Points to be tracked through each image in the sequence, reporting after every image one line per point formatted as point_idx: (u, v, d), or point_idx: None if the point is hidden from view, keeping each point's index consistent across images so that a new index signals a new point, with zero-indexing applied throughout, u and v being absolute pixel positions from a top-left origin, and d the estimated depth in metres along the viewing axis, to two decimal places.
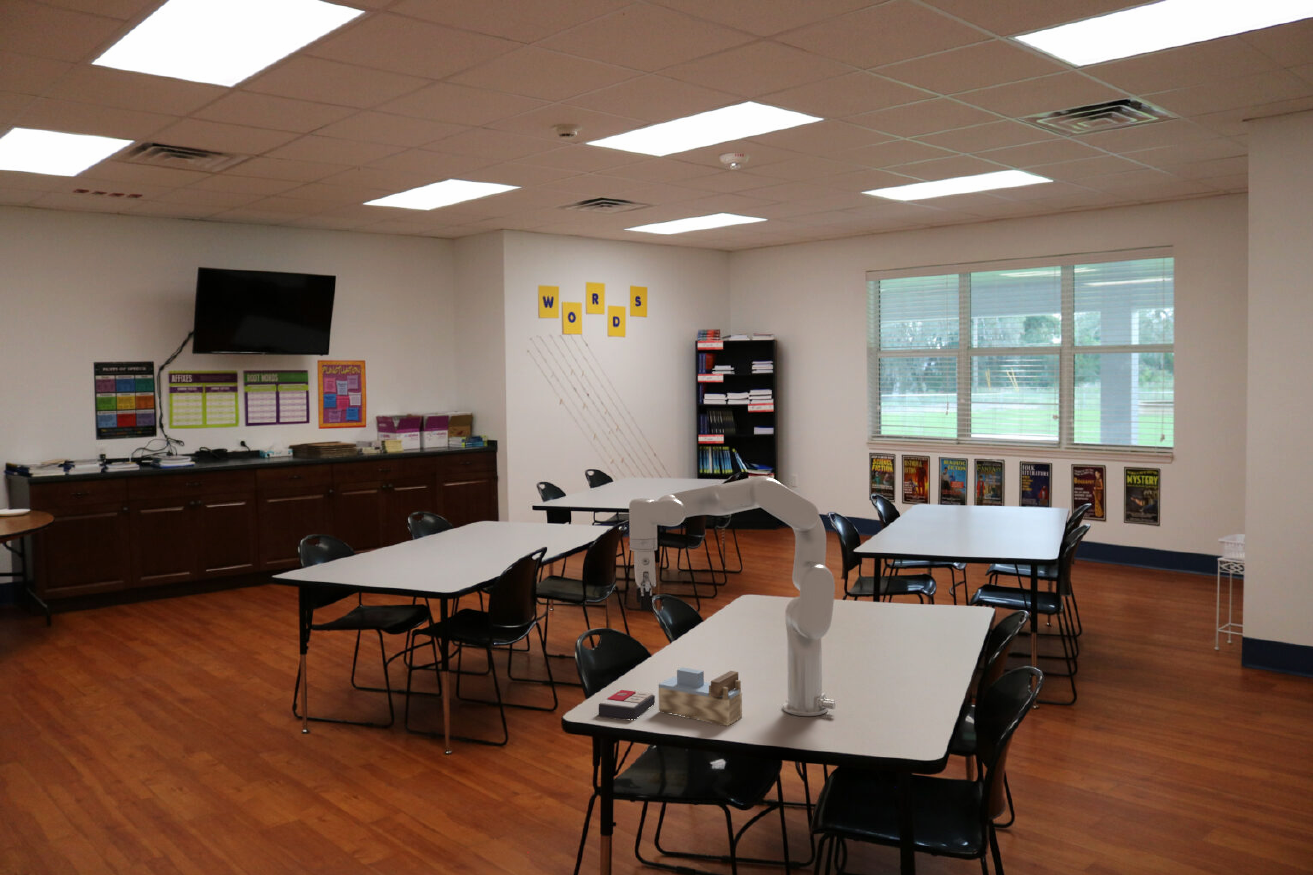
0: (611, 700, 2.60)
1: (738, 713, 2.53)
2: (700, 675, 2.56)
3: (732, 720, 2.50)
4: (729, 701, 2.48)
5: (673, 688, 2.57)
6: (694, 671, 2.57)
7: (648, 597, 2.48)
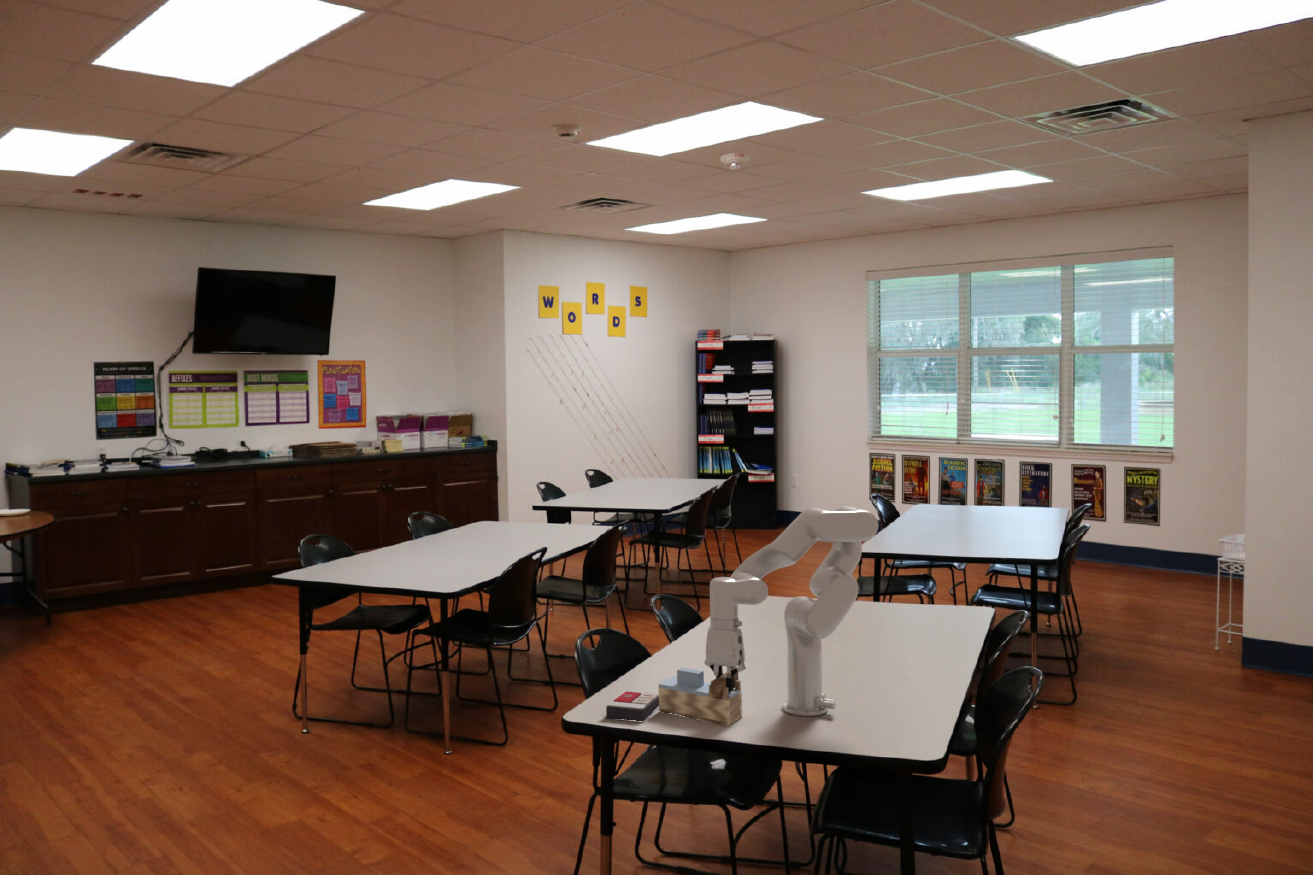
0: (618, 702, 2.58)
1: (738, 713, 2.53)
2: (700, 675, 2.56)
3: (732, 720, 2.50)
4: (729, 701, 2.48)
5: (673, 688, 2.57)
6: (694, 671, 2.57)
7: (733, 677, 2.51)
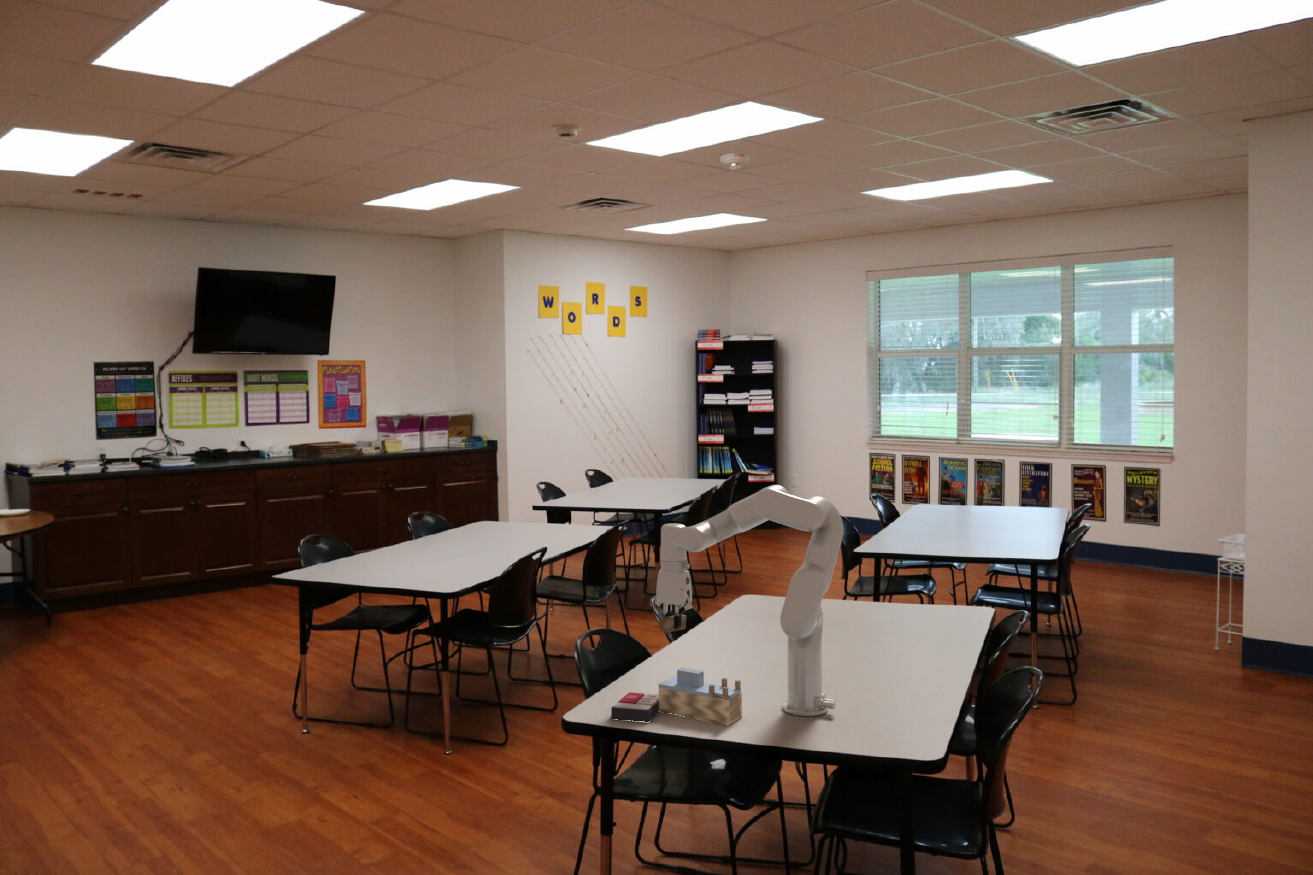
0: (623, 703, 2.57)
1: (738, 713, 2.53)
2: (700, 675, 2.56)
3: (732, 720, 2.50)
4: (729, 701, 2.48)
5: (673, 688, 2.57)
6: (694, 671, 2.57)
7: (681, 616, 2.73)
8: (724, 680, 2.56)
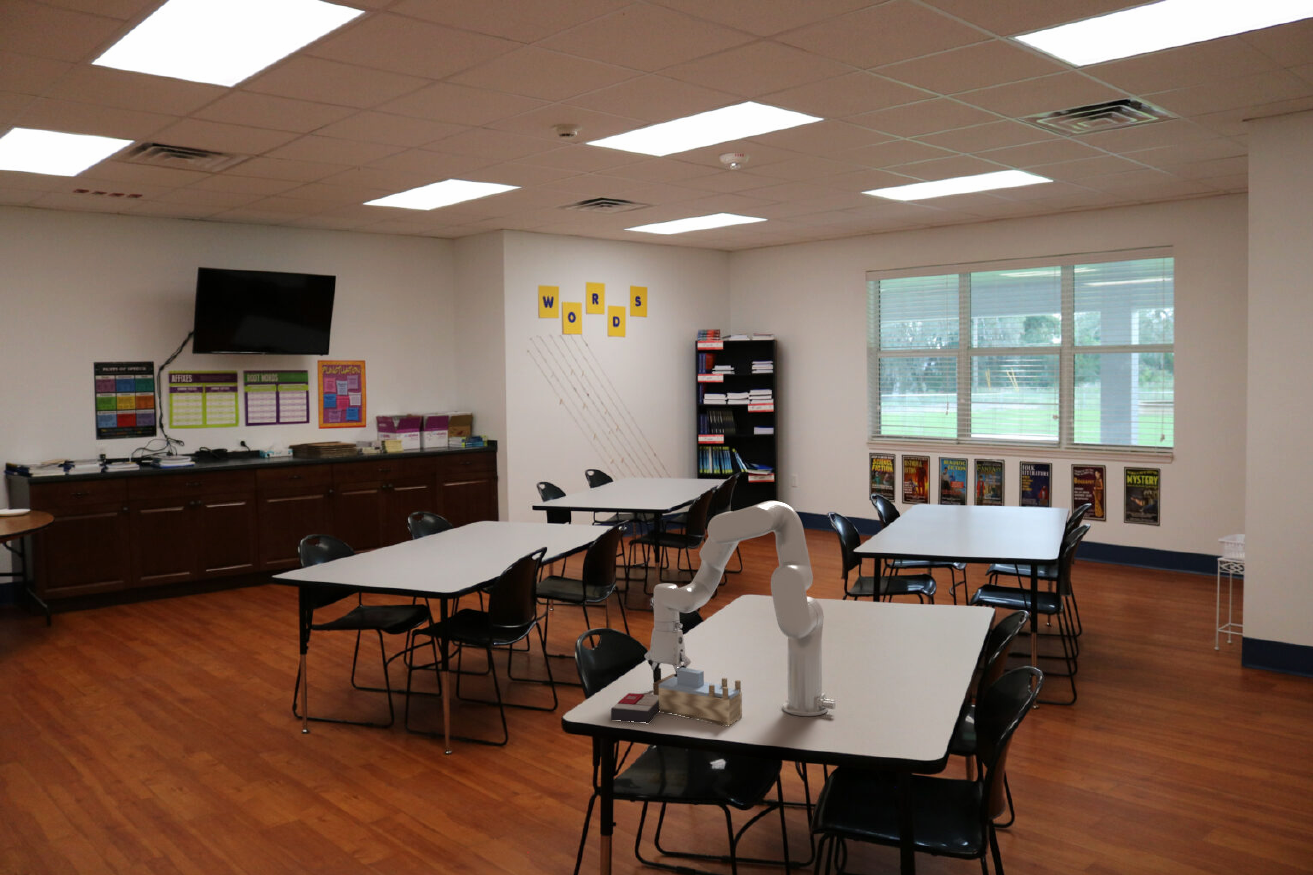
0: (623, 704, 2.57)
1: (738, 713, 2.53)
2: (700, 675, 2.56)
3: (732, 720, 2.50)
4: (729, 701, 2.48)
5: (673, 688, 2.57)
6: (694, 671, 2.57)
7: None
8: (724, 680, 2.56)
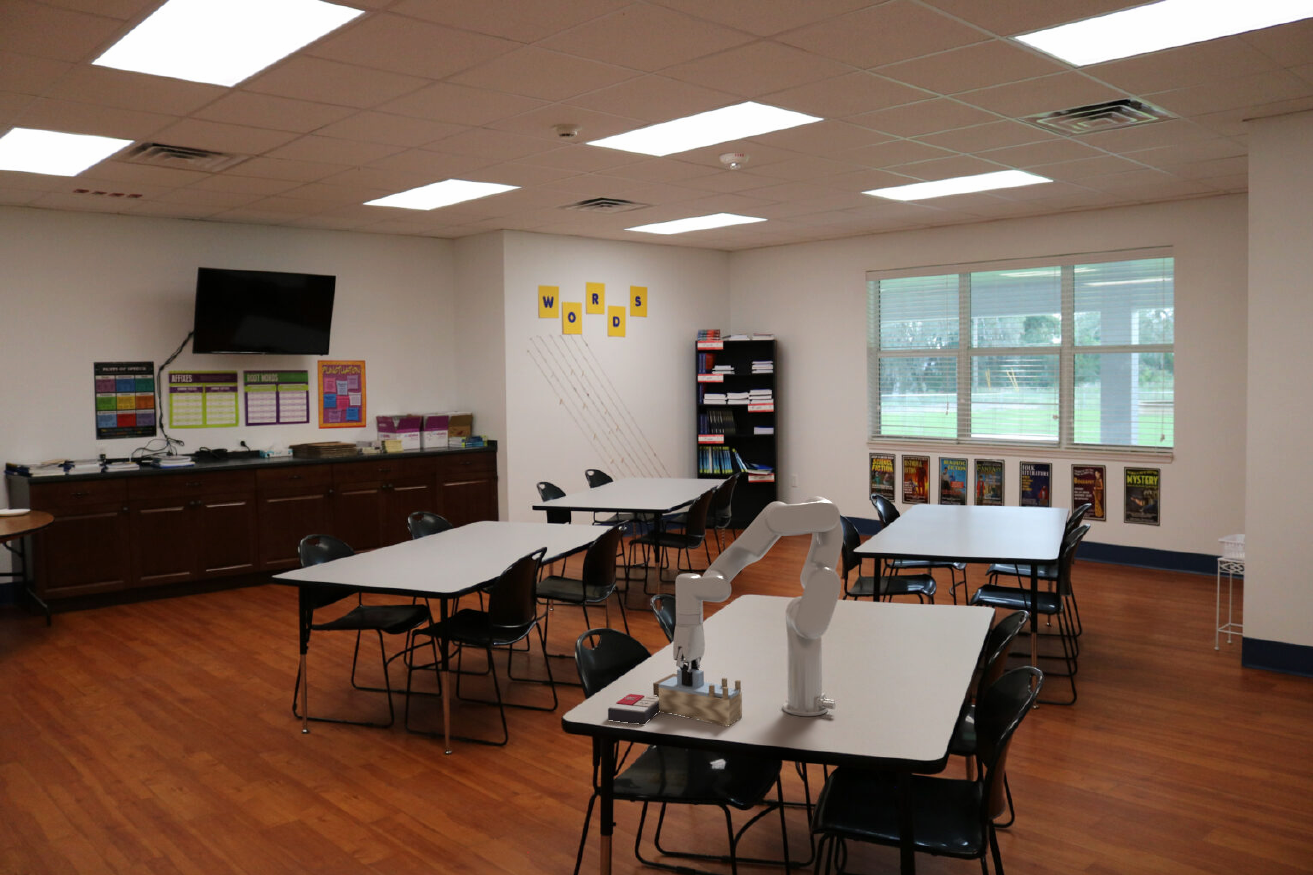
0: (621, 705, 2.56)
1: (738, 713, 2.53)
2: (700, 675, 2.56)
3: (732, 720, 2.50)
4: (729, 701, 2.48)
5: (673, 688, 2.57)
6: (694, 671, 2.57)
7: None
8: (724, 680, 2.56)
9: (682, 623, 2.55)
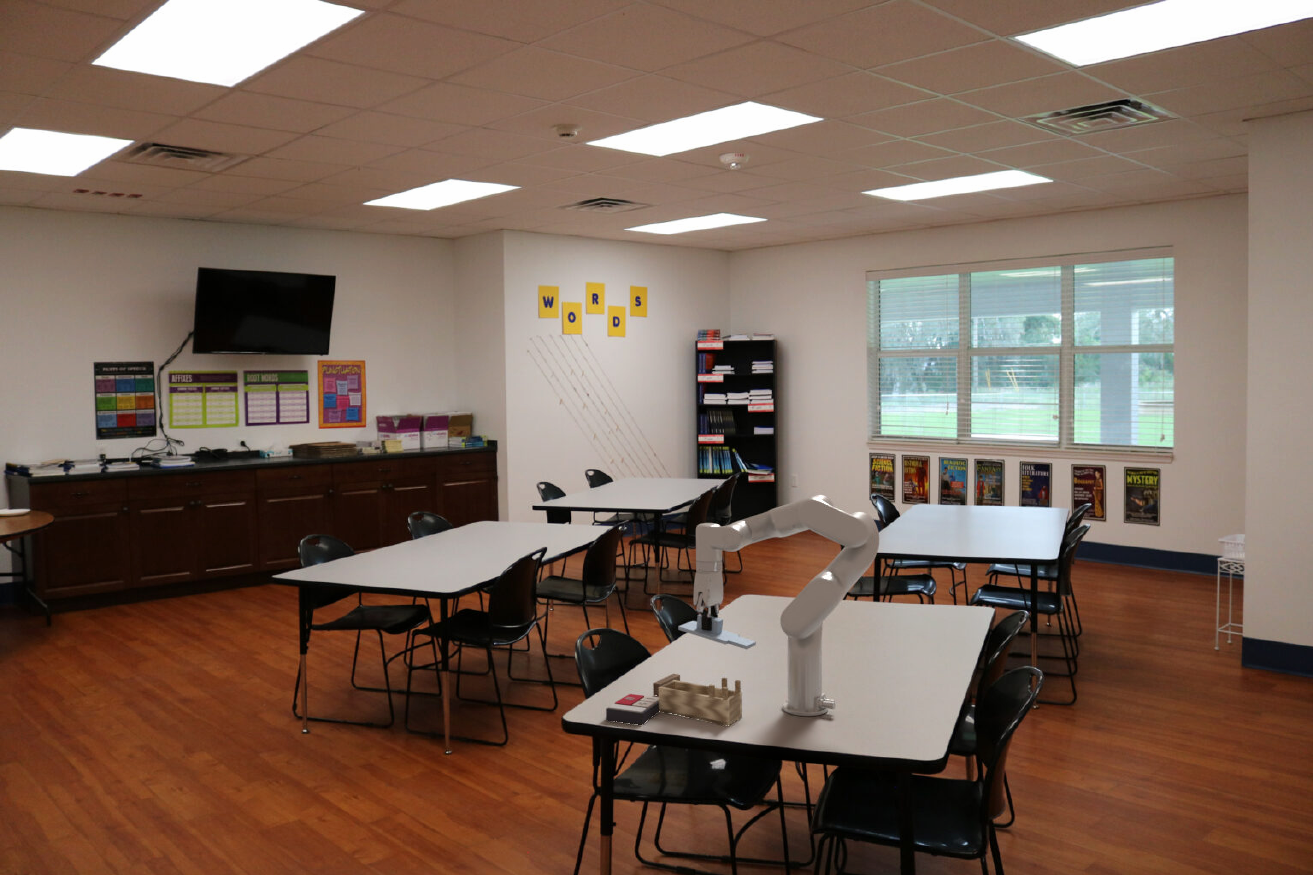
0: (619, 705, 2.56)
1: (738, 713, 2.53)
2: (719, 623, 2.67)
3: (732, 720, 2.50)
4: (729, 701, 2.48)
5: (692, 632, 2.68)
6: (714, 618, 2.68)
7: None
8: (724, 680, 2.56)
9: (702, 570, 2.65)
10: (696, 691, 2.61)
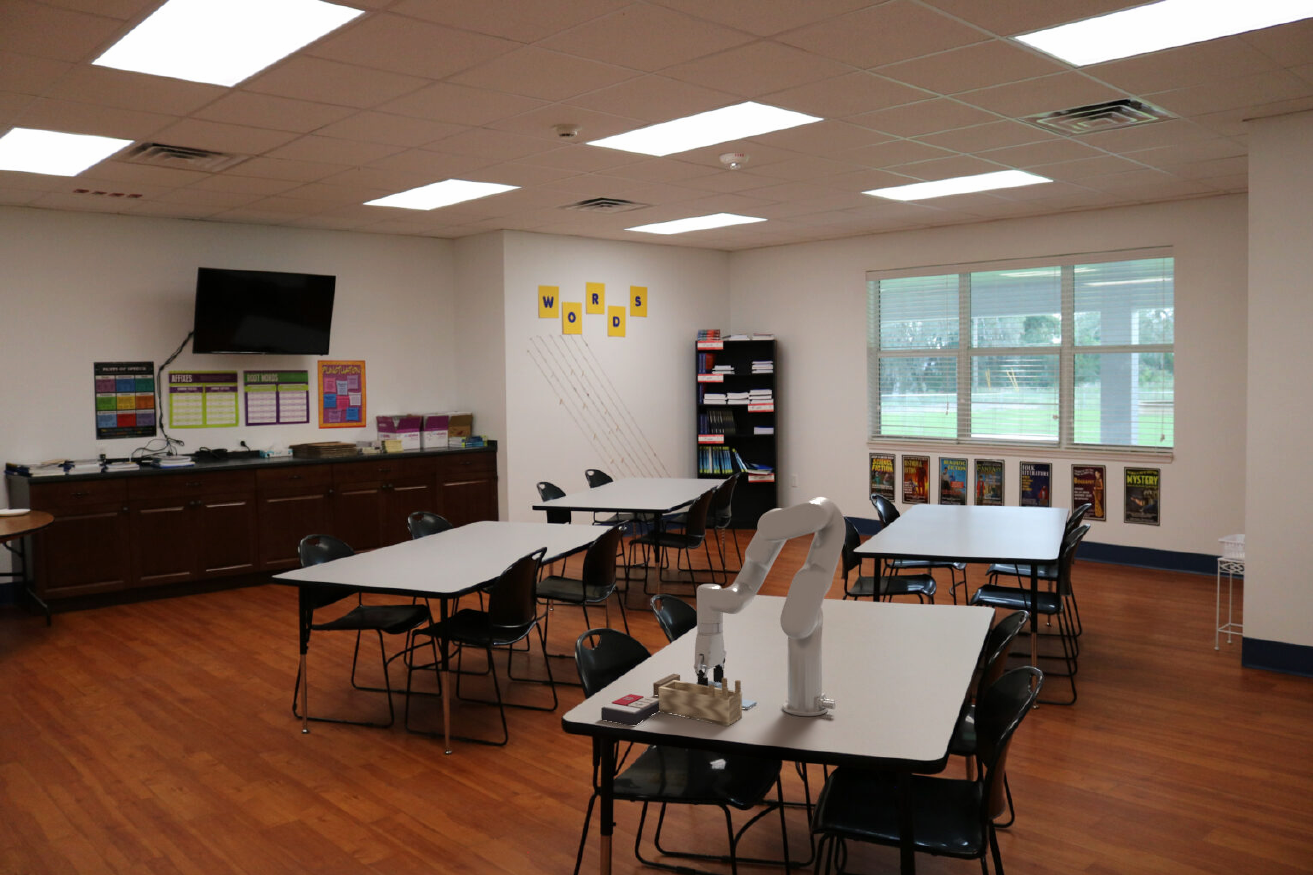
0: (615, 704, 2.56)
1: (738, 713, 2.53)
2: (719, 687, 2.68)
3: (732, 720, 2.50)
4: (729, 701, 2.48)
5: None
6: (713, 683, 2.69)
7: None
8: (724, 680, 2.56)
9: (703, 631, 2.66)
10: (696, 691, 2.61)
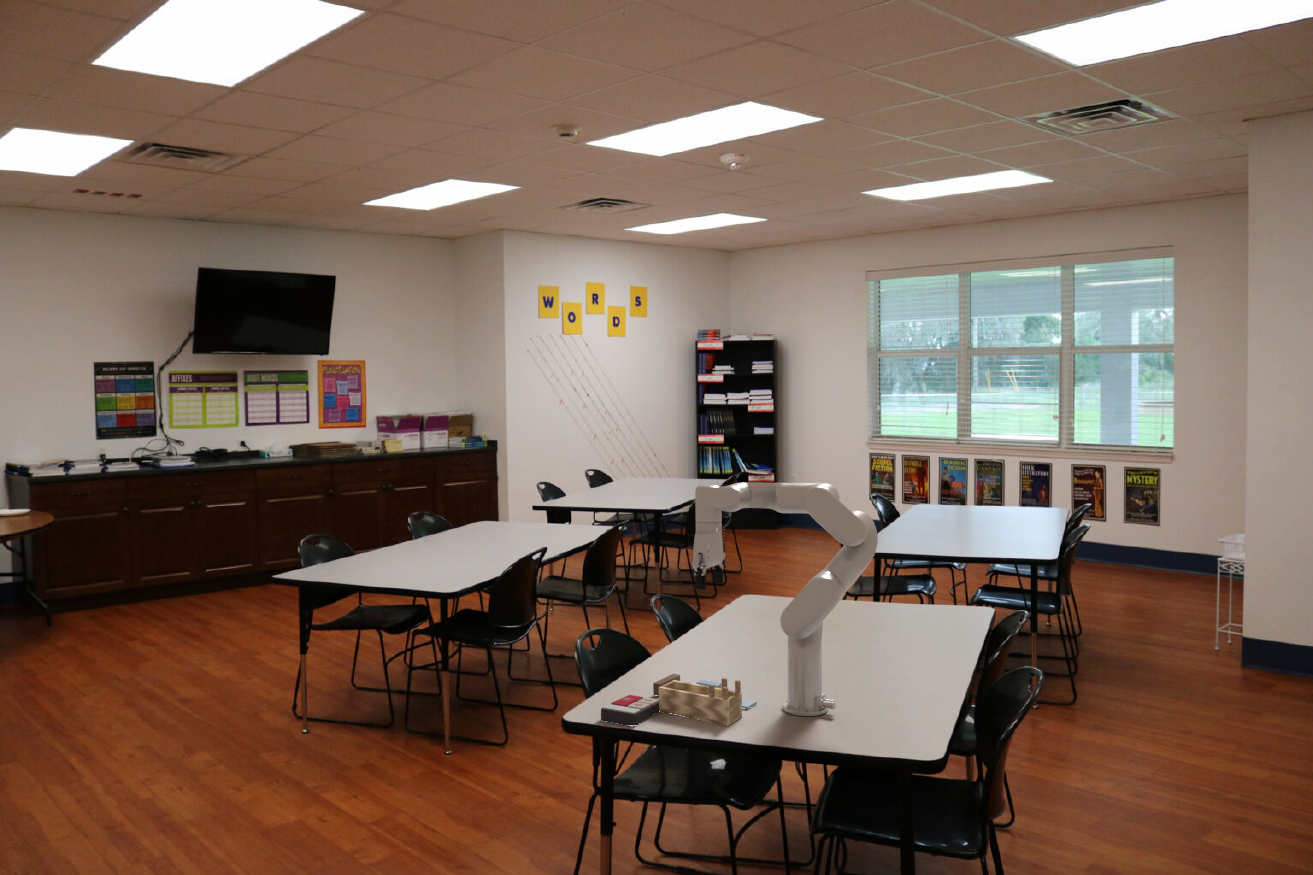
0: (614, 705, 2.56)
1: (738, 713, 2.53)
2: (719, 687, 2.68)
3: (732, 720, 2.50)
4: (729, 701, 2.48)
5: None
6: (713, 683, 2.69)
7: None
8: (724, 680, 2.56)
9: (702, 531, 2.65)
10: (696, 691, 2.61)
